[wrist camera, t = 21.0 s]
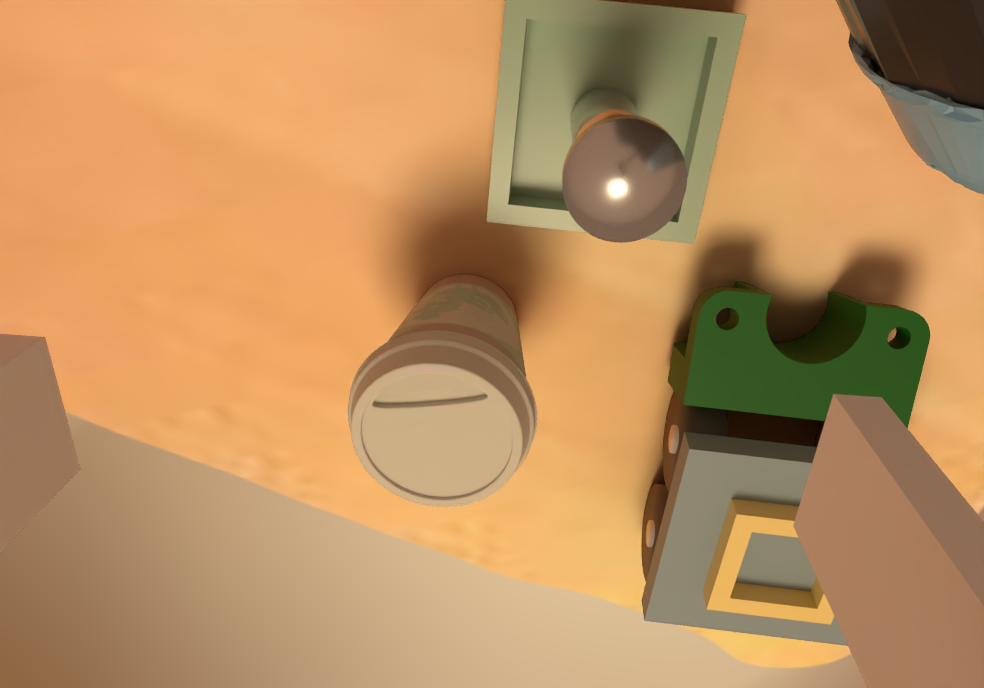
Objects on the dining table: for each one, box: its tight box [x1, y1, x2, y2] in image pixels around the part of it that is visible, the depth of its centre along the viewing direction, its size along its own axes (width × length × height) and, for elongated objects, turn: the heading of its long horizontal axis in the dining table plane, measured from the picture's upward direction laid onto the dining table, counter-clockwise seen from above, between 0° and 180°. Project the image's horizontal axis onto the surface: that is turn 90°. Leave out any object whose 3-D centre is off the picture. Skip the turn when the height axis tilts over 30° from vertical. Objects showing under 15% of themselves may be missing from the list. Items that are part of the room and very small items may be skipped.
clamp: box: [668, 281, 930, 428], centre depth 37 cm, size 12×6×9 cm, turn 78°
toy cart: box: [642, 392, 848, 646], centre depth 40 cm, size 13×12×9 cm
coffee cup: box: [348, 274, 537, 507], centre depth 36 cm, size 8×8×12 cm
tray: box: [487, 0, 746, 244], centre depth 34 cm, size 10×10×2 cm
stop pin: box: [562, 87, 687, 242], centre depth 29 cm, size 4×4×12 cm
